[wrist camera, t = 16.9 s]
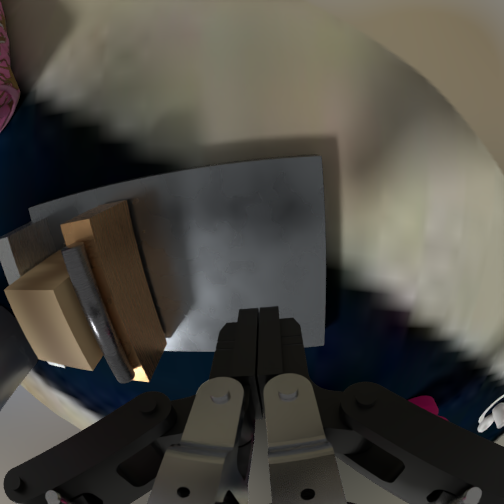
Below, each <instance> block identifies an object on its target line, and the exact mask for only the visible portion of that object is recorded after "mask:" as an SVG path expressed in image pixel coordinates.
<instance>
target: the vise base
mask: <svg viewBox="0 0 504 504" xmlns="http://www.w3.org/2000/svg"><path fill="white" fill-rule="evenodd" d="M123 200H127V203H128V208H129V213H130V218H131V222H132V226H133V231H134V235H135V239H136V243H137V247H138V251H139V255H140V259H141V262H142V266H143V269H144V273H145V277H146V280H147V283H148V287H149V290H150V293H151V297H152V300H153V303H154V306H155V309H156V312H157V315H158V318H159V321H160V324H161V327H162V330H163V333H164V336H165V338H166V341H167V345H166V347H165V349H164V351H216V345H217V340H218V336H219V331H220V330H221V329H222V328H223V326H224V325H225V324H226V323H230V322H237V320H238V313H239V309H248V308H259V309H260V307H272V306H278V307H279V319H283V318H294V319H295V320H296V321H297V322H298V323H299V324H300V327H301V333H302V338H303V345H304V347H313V346H323V345H324V333H325V304H326V235H325V205H324V186H323V170H322V157H321V156H320V155H302V156H288V157H275V158H264V159H254V160H245V161H236V162H228V163H221V164H213V165H206V166H200V167H193V168H187V169H181V170H175V171H169V172H164V173H159V174H153V175H148V176H143V177H139V178H134V179H129V180H125V181H120V182H116V183H112V184H107V185H103V186H99V187H95V188H91V189H88V190H84V191H80V192H76V193H73V194H69V195H66V196H62V197H59V198H56V199H52V200H49V201H46V202H43V203H40V204H37V205H35V206H33V207H30V208H29V213H30V217H31V222H29V223H27V224H25V225H23V226H21V227H19V228H17V229H15V230H13V231H11V232H9V233H7V234H5V235H3V236H2V237H0V261H1V264H2V267H3V270H4V273H5V275H6V278H7V281H8V283H9V285H11V284H12V283H13V282H15V281H16V280H17V279H19V278H20V277H21V276H23V275H24V274H25V273H27V272H28V271H29V270H31V269H32V268H34V267H35V266H36V265H38V264H39V263H41V262H42V261H44V260H45V259H47V258H48V257H50V256H51V255H52V254H54V253H55V252H57V251H58V250H62V249H63V248H64V247H66V244H65V240H64V237H63V233H62V229H61V226H60V225H61V224H62V223H64V222H66V221H68V220H70V219H72V218H74V217H76V216H78V215H80V214H82V213H84V212H86V211H88V210H90V209H92V208H95V207H97V206H99V205H103V204H108V203H113V202H118V201H123ZM47 362H48V361H47ZM48 363H49V364H51V365H55V366H59V367H63V368H66V366H65V365H61V364H56V363H52V362H48Z"/></svg>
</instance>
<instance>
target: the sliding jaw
mask: <svg viewBox="0 0 504 504" xmlns="http://www.w3.org/2000/svg"><path fill="white" fill-rule="evenodd" d="M60 226H61V229H62V233H63V237H64V240H65V244H66V247H64V248H63V249H62V250H61V253H62V256H63V259H64V262H65V265H66V268H67V271H68V274H69V277H70V279H71V282H72V285H73V288H74V290H75V293H76V295H77V298H78V300H79V303H80V305H81V308H82V310H83V312H84V315H85V317H86V319H87V322H88V324H89V326H90V328H91V330H92V332H93V335H94V337H95V339H96V341H97V343H98V345H99V347H100V349H101V351H102V353H103V355H104V357H105V359H106V360H107V362H108V364H109V366H110V368H111V370H112V372H113V373H114V375H115V377H116V379H117V380H118V382H120V383H128V382H130V381H132V380H136V381H145V382H150V380H151V378H152V375H153V373H154V371H155V369H156V366H157V364H158V362H159V360H160V358H161V355H162V353H163V351H164V349H165V347H166V345H167V341H166V338H165V336H164V333H163V330H162V327H161V324H160V321H159V318H158V315H157V312H156V309H155V306H154V303H153V300H152V297H151V293H150V290H149V287H148V283H147V280H146V277H145V273H144V269H143V266H142V262H141V259H140V255H139V251H138V247H137V243H136V239H135V235H134V231H133V226H132V222H131V218H130V213H129V208H128V203H127V200H123V201H118V202H113V203H108V204H103V205H99V206H97V207H95V208H92V209H90V210H88V211H86V212H84V213H82V214H80V215H78V216H76V217H74V218H72V219H70V220H68V221H66V222H64V223H62V224H61V225H60Z"/></svg>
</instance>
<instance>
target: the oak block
mask: <svg viewBox="0 0 504 504" xmlns="http://www.w3.org/2000/svg"><path fill="white" fill-rule="evenodd" d="M4 292H5V294H6V296H7V299H8V301H9V303H10V306H11V308H12V310H13V312H14V314H15V316H16V318H17V320H18V322H19V324H20V326H21V328H22V330H23V332H24V334H25V336H26V338H27V340H28V342H29V343H30V345H31V347H32V349H33V350H34V352H35V354H36V355H37V357H38V359H40V360H44V361H48V362H52V363H56V364H61V365H65V366H70V367H74V368H79V369H84V370H90V371H93V370H94V368H95V367H96V365H97V364H98V362H99V361H100V359H101V358H102V356H103V353H102V351H101V349H100V347H99V345H98V343H97V341H96V339H95V337H94V335H93V332H92V330H91V328H90V326H89V324H88V322H87V319H86V317H85V315H84V312H83V310H82V308H81V305H80V303H79V300H78V298H77V295H76V293H75V290H74V288H73V285H72V282H71V279H70V277H69V274H68V271H67V268H66V265H65V262H64V259H63V256H62V253H61V250H58V251H57V252H55V253H54V254H52V255H51V256H50V257H48V258H47V259H45V260H44V261H42V262H41V263H39V264H38V265H36V266H35V267H34V268H32V269H31V270H29V271H28V272H27V273H25V274H24V275H23V276H21V277H20V278H19V279H17V280H16V281H15V282H13V283H12V284H11V285H9V286H8V287H7V288H5V289H4Z"/></svg>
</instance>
